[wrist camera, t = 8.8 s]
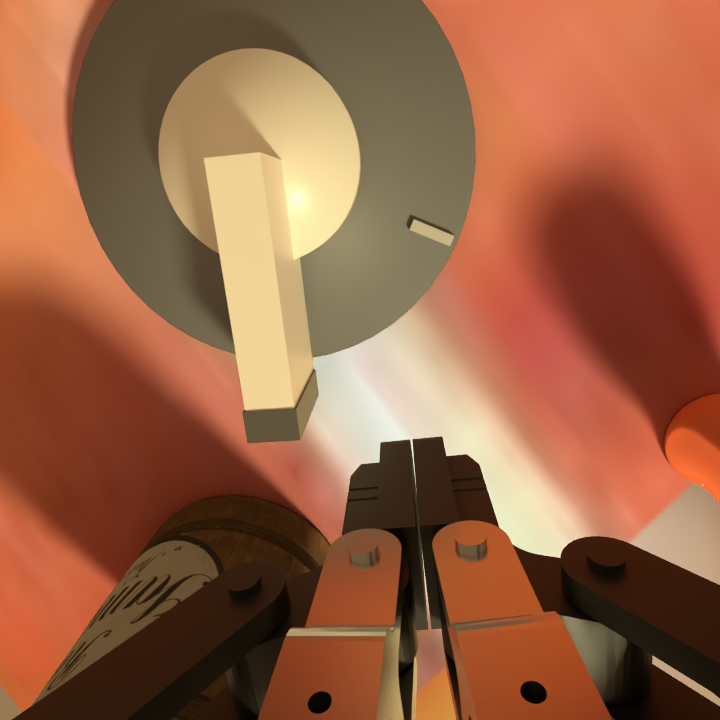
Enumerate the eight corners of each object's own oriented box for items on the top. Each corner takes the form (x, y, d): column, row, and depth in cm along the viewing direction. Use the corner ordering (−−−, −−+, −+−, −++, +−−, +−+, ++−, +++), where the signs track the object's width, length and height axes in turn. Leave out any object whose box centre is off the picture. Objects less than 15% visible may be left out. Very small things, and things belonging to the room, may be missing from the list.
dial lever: (161, 73, 27) (87, 32, 21) (352, 50, 26) (338, 0, 20) (218, 397, 32) (174, 447, 26) (380, 387, 31) (377, 436, 25)
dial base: (139, -137, 26) (122, -160, 24) (542, 39, 27) (552, 28, 25) (54, 274, 33) (34, 278, 31) (381, 403, 34) (381, 414, 32)
